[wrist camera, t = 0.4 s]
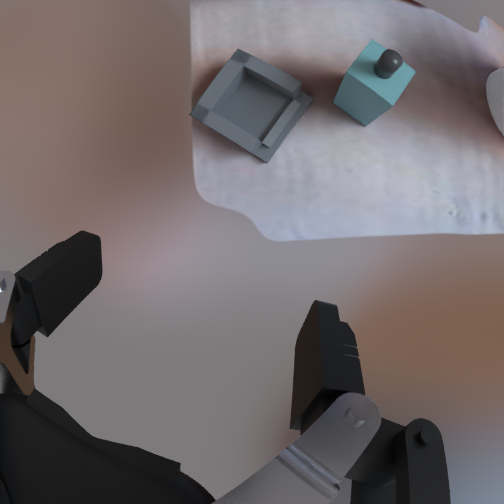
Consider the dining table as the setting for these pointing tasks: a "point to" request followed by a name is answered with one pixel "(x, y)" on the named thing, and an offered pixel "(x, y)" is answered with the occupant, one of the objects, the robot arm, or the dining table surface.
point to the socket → (252, 104)
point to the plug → (373, 83)
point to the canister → (496, 97)
